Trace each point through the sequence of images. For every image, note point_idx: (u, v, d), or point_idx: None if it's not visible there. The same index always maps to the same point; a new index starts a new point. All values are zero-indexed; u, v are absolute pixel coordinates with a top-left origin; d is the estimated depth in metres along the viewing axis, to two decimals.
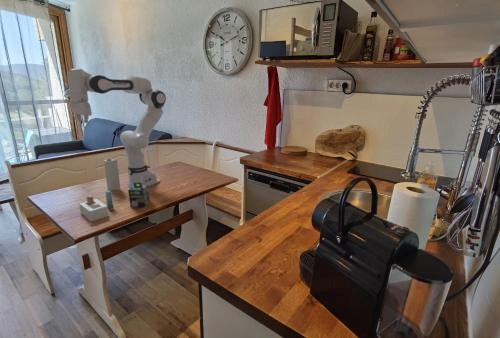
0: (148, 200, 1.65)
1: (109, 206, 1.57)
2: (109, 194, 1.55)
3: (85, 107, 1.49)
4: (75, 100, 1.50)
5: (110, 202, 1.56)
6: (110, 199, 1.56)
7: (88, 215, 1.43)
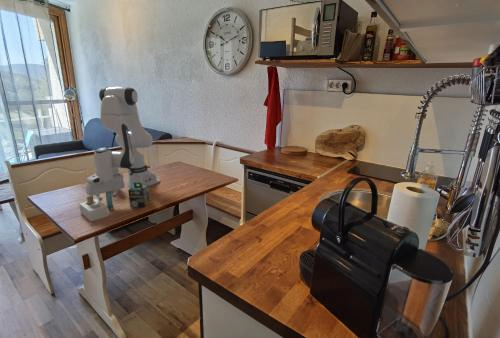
0: (148, 200, 1.65)
1: (109, 206, 1.57)
2: (109, 194, 1.55)
3: None
4: (113, 178, 1.53)
5: (110, 202, 1.56)
6: (110, 199, 1.56)
7: (88, 215, 1.43)
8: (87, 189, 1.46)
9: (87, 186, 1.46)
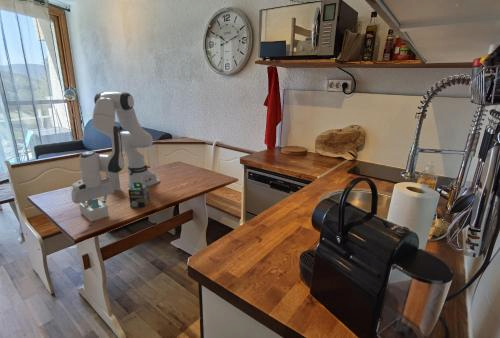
0: (148, 200, 1.65)
1: None
2: (95, 203, 1.44)
3: None
4: (100, 183, 1.42)
5: None
6: None
7: (88, 215, 1.43)
8: (73, 196, 1.35)
9: (72, 193, 1.35)
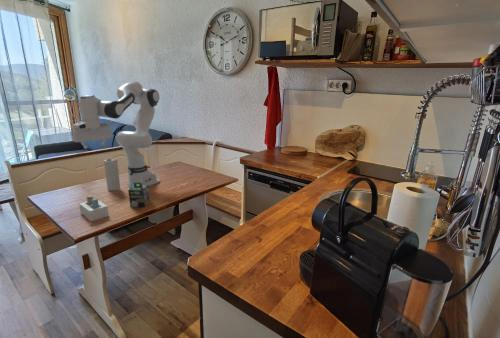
0: (148, 200, 1.65)
1: None
2: (95, 202, 1.44)
3: None
4: (99, 126, 1.53)
5: None
6: None
7: (88, 215, 1.43)
8: (73, 135, 1.47)
9: (73, 132, 1.47)
